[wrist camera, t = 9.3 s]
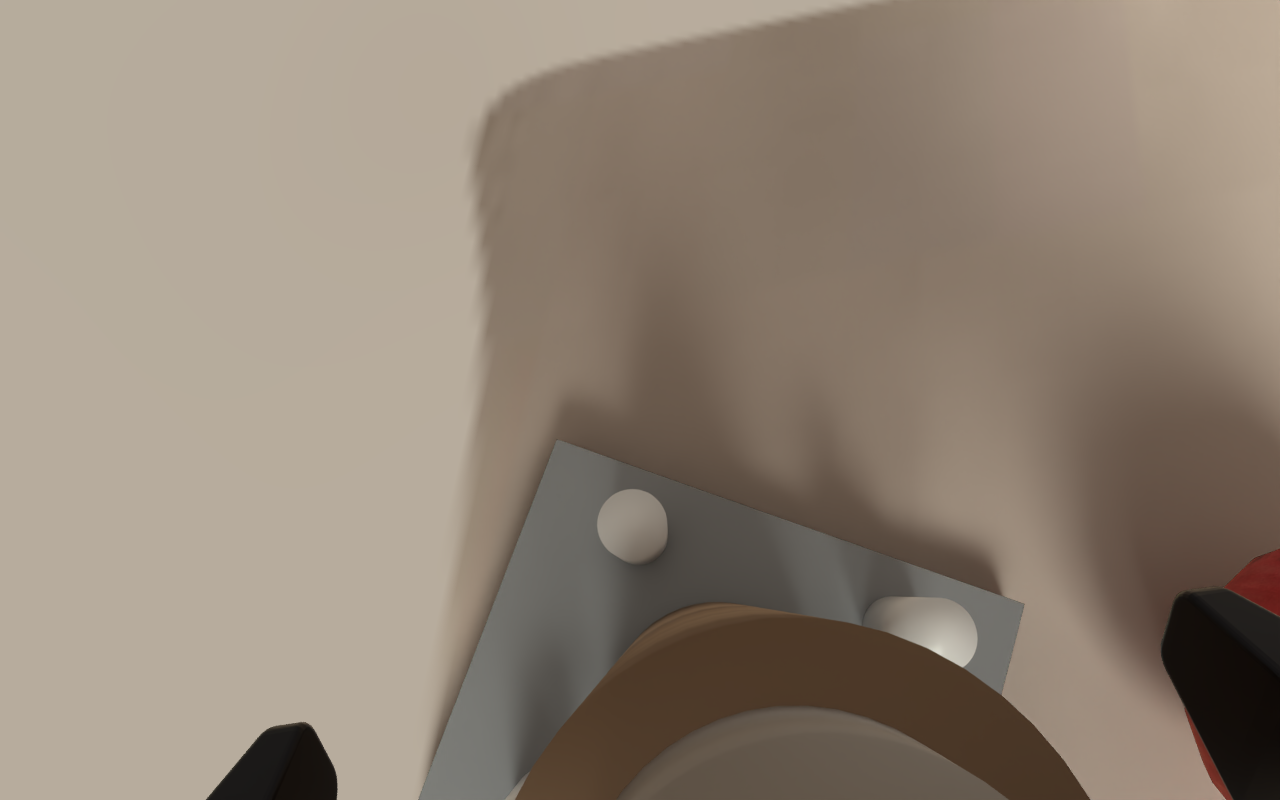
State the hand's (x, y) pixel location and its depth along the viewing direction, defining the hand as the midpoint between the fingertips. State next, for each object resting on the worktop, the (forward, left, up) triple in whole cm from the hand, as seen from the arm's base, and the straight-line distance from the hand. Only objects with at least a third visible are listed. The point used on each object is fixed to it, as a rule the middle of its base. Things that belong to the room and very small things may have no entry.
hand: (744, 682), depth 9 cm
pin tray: (-1, -1, -9) cm, 9 cm away
